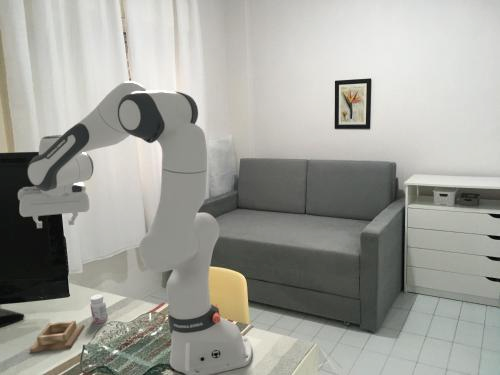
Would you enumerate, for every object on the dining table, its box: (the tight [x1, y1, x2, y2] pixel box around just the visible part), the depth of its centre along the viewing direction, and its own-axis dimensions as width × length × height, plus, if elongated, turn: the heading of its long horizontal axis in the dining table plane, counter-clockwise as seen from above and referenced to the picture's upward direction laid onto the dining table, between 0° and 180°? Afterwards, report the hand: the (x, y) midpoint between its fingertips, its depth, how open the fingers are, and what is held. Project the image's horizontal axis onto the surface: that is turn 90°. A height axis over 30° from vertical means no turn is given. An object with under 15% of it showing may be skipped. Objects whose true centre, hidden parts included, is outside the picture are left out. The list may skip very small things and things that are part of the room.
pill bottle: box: [89, 293, 108, 324], centre depth 139 cm, size 5×5×8 cm
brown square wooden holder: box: [29, 320, 85, 353], centre depth 130 cm, size 12×12×4 cm
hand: (55, 225), depth 135 cm, fingers open, 8 cm apart
